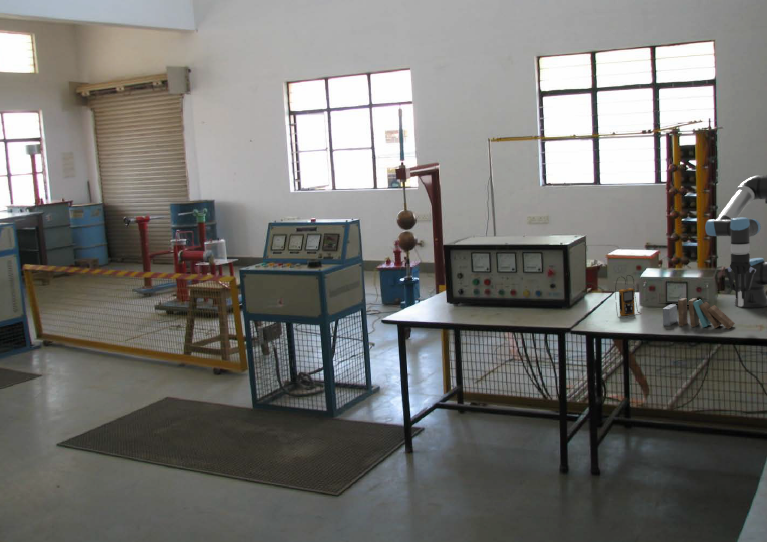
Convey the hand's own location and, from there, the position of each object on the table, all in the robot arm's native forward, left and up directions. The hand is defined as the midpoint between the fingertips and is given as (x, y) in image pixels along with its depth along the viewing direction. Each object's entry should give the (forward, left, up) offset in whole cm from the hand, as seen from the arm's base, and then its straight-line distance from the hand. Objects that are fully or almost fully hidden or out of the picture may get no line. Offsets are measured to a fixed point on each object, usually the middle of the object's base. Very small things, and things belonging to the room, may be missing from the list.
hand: (740, 305), depth 349 cm
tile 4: (+10, -17, -10) cm, 22 cm away
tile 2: (+5, -8, -10) cm, 14 cm away
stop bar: (+16, -27, -11) cm, 33 cm away
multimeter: (+19, -51, -11) cm, 55 cm away
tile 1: (+2, -4, -10) cm, 11 cm away
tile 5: (+13, -22, -11) cm, 27 cm away
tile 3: (+7, -13, -10) cm, 18 cm away
